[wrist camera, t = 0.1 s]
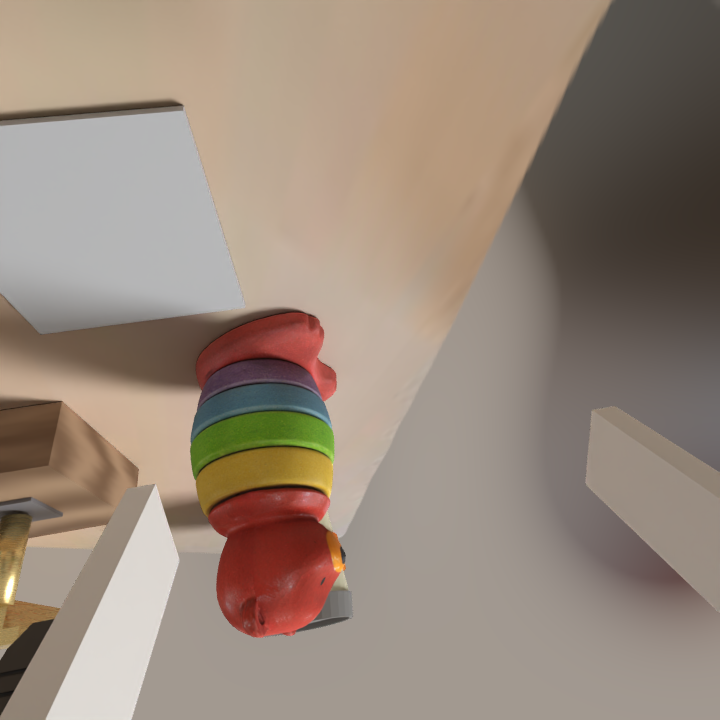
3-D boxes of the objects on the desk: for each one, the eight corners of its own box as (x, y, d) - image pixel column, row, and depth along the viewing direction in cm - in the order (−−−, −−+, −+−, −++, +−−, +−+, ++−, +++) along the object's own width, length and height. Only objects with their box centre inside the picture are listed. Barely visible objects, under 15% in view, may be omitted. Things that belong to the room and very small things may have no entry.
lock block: (-116, 427, 32) (-149, 501, 29) (62, 401, 33) (47, 469, 30) (10, 490, 43) (-5, 547, 41) (138, 468, 45) (133, 522, 42)
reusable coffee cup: (337, 510, 70) (353, 620, 61) (255, 525, 68) (260, 639, 60) (337, 483, 59) (357, 611, 51) (240, 499, 57) (244, 634, 49)
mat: (-145, 132, 17) (-150, 138, 17) (183, 105, 18) (183, 110, 18) (42, 329, 27) (40, 334, 27) (244, 302, 28) (245, 307, 28)
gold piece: (-25, 520, 34) (-65, 658, 29) (41, 509, 35) (13, 642, 30) (77, 557, 47) (61, 659, 42) (125, 549, 47) (114, 648, 42)
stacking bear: (339, 385, 38) (382, 621, 29) (223, 409, 38) (226, 654, 29) (316, 304, 29) (367, 608, 20) (164, 335, 29) (140, 657, 20)
